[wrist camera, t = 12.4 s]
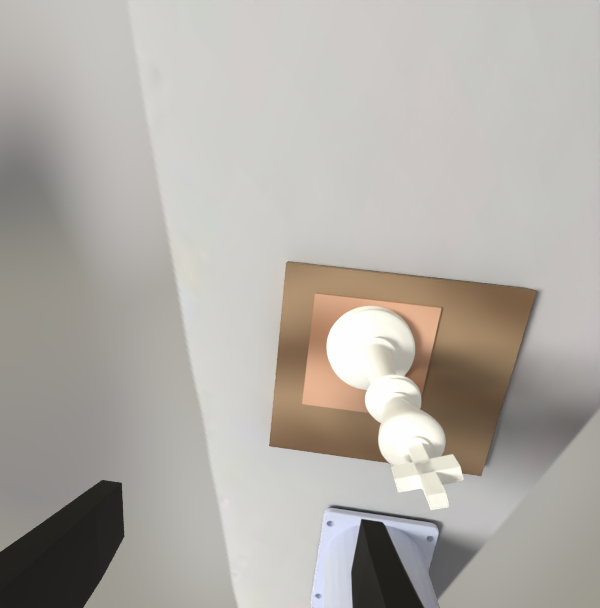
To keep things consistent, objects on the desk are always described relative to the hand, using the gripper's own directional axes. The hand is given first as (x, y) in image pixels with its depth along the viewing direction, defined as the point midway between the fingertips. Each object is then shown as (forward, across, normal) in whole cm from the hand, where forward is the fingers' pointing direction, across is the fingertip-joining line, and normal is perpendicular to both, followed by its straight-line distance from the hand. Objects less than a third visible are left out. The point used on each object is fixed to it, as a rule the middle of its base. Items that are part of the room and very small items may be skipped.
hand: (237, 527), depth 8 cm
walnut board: (+10, -6, -1) cm, 12 cm away
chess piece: (+9, -5, -3) cm, 11 cm away
